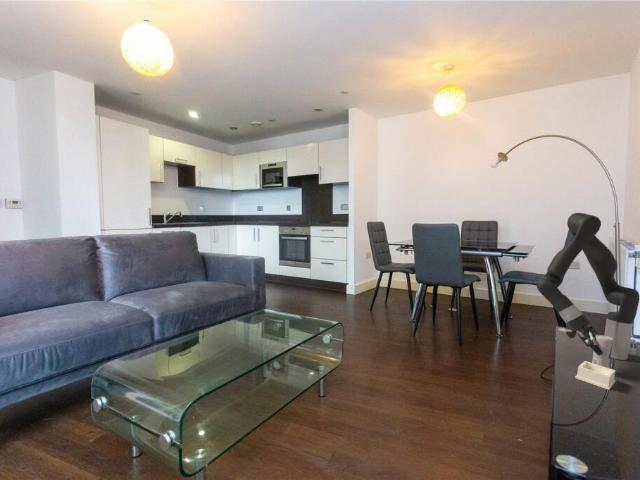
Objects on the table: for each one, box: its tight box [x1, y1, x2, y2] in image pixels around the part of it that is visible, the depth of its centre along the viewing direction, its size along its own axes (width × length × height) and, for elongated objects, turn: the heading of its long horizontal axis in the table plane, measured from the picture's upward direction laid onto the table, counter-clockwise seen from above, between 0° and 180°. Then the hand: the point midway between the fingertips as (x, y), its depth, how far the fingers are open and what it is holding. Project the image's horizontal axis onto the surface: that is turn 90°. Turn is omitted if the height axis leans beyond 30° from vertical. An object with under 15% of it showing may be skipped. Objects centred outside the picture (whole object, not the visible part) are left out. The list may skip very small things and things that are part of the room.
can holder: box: [574, 360, 616, 390], centre depth 132 cm, size 10×10×5 cm
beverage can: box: [591, 334, 613, 369], centre depth 140 cm, size 6×6×15 cm
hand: (603, 352), depth 140 cm, fingers open, 8 cm apart
